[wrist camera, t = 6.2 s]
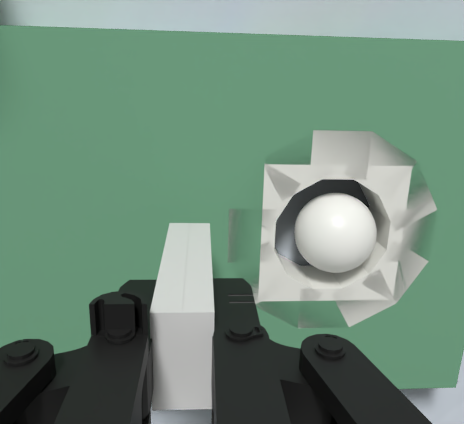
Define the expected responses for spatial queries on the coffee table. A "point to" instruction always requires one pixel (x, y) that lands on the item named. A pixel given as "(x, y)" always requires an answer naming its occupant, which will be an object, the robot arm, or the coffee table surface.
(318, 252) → the ball
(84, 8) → the coffee table surface
